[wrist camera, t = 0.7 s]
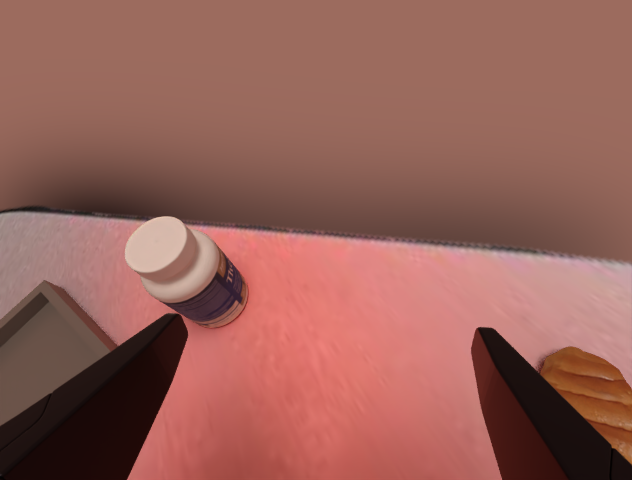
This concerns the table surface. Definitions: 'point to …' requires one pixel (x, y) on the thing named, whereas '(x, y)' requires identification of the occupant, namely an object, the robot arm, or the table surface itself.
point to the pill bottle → (186, 271)
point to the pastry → (594, 393)
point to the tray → (45, 347)
